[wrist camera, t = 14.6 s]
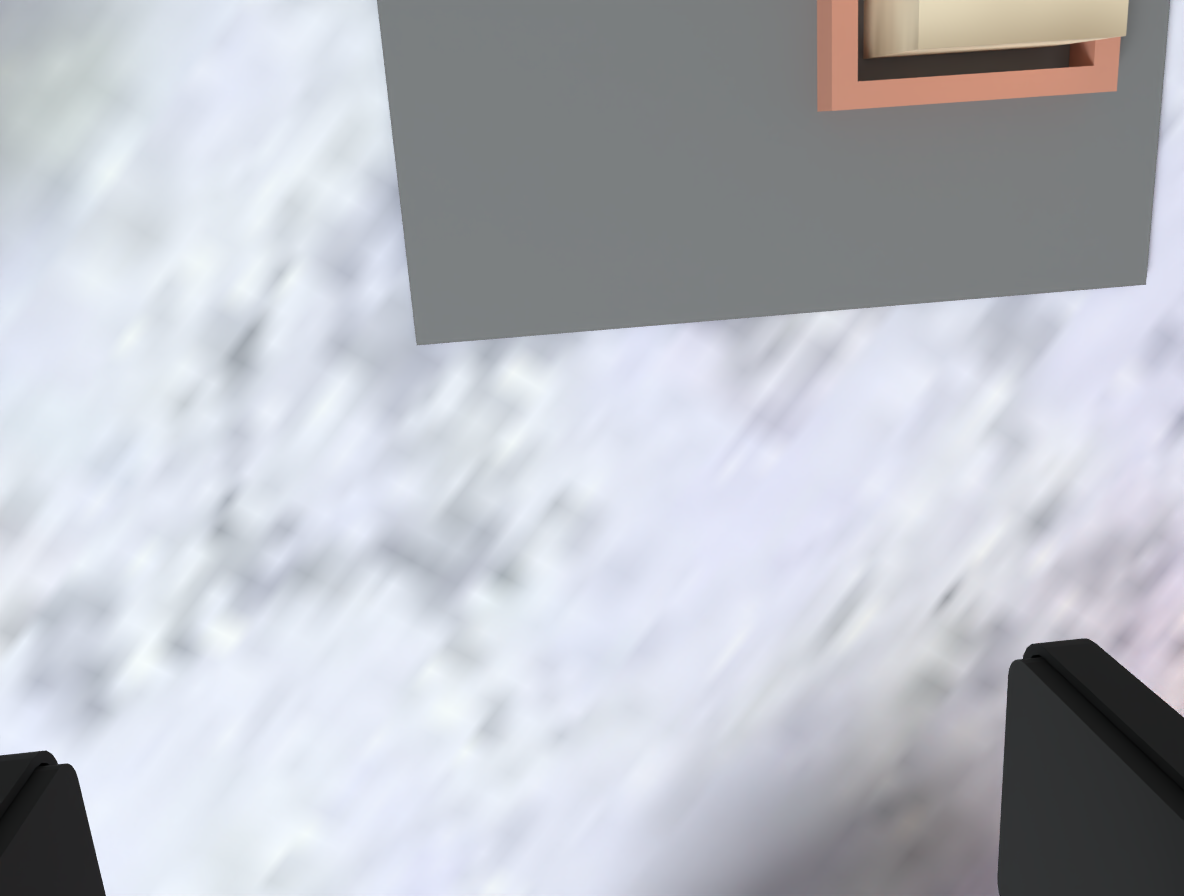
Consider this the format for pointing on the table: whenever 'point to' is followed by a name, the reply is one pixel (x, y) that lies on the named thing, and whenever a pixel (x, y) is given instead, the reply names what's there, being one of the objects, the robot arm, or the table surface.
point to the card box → (985, 25)
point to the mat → (751, 163)
